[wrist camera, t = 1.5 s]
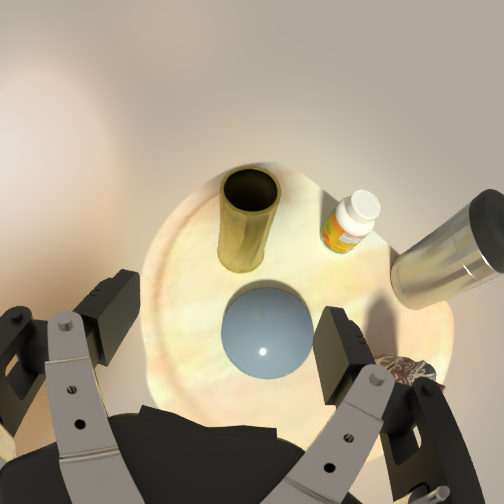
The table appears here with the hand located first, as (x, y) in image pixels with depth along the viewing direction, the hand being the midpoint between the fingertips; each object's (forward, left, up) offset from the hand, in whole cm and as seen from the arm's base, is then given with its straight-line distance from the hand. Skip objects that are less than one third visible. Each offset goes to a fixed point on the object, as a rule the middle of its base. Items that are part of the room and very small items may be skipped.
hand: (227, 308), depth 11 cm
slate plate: (-5, 0, -22) cm, 23 cm away
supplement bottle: (-17, -12, -22) cm, 31 cm away
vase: (-3, -11, -22) cm, 25 cm away
